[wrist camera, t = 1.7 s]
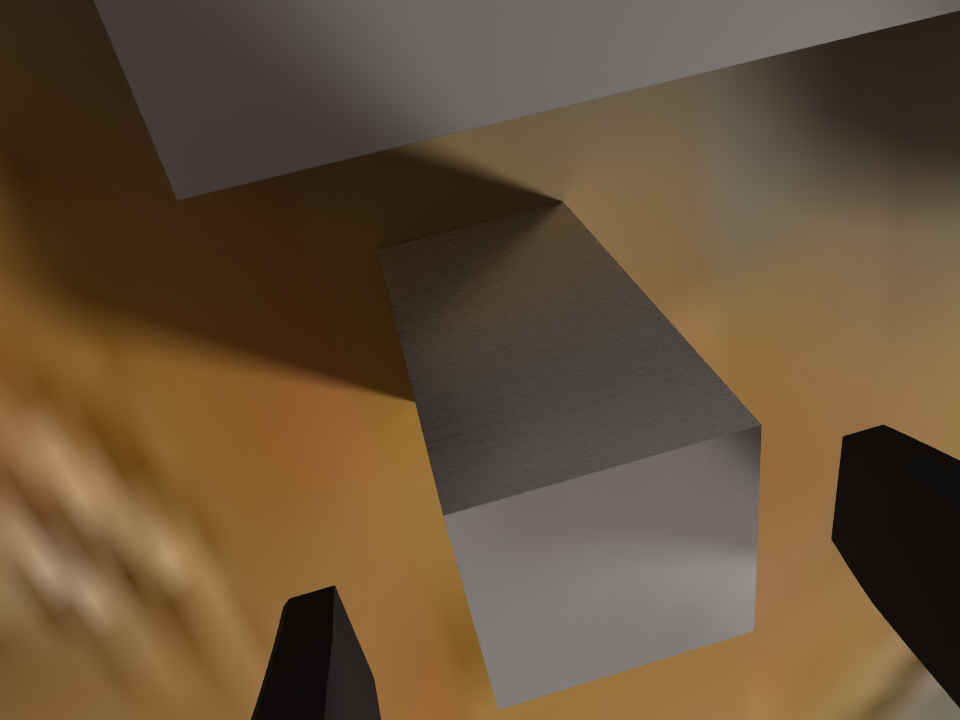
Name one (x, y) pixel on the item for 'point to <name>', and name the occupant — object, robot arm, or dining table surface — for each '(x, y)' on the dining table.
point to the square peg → (574, 453)
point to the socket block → (423, 66)
